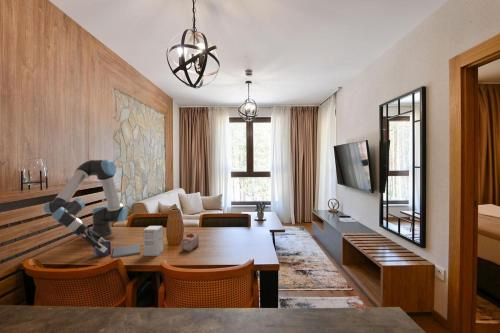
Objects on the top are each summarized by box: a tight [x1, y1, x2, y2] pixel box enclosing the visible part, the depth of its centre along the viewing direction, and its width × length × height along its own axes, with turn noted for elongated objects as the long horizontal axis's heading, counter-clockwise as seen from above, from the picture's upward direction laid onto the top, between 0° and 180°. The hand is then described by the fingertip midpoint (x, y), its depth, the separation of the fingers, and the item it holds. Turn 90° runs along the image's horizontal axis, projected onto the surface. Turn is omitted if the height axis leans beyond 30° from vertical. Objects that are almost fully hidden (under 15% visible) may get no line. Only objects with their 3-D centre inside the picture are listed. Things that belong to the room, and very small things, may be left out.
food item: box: [180, 233, 200, 252], centre depth 176 cm, size 14×8×10 cm, turn 167°
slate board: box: [111, 243, 141, 259], centre depth 172 cm, size 18×16×1 cm
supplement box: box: [142, 225, 164, 257], centre depth 168 cm, size 10×9×17 cm
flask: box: [93, 237, 112, 258], centre depth 165 cm, size 9×3×11 cm, turn 117°
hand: (106, 247), depth 166 cm, fingers open, 12 cm apart
